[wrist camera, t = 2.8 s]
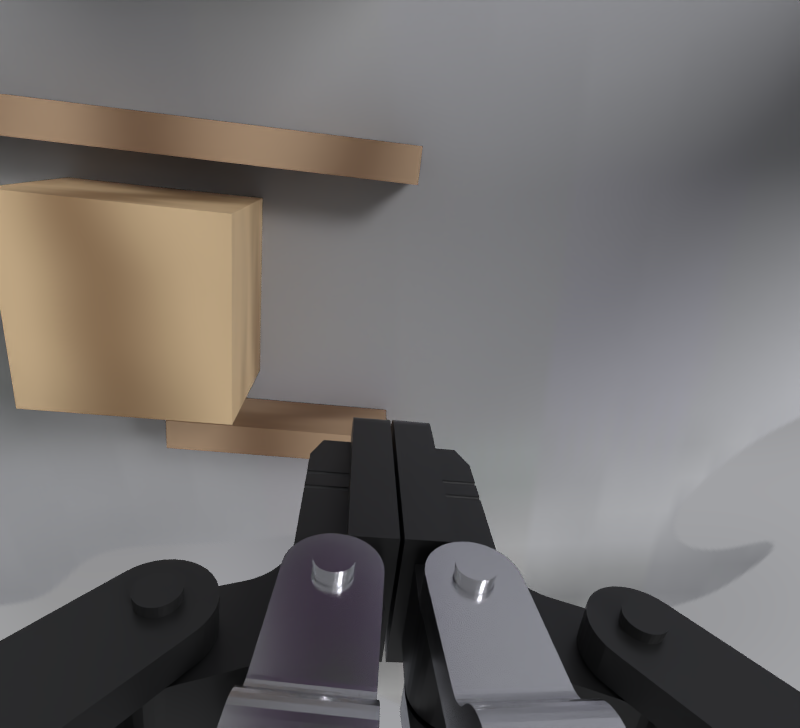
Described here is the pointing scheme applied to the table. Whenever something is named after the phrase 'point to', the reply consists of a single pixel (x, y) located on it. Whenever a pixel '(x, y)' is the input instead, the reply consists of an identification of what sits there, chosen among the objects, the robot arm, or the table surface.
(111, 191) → the block
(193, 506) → the table surface
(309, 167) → the channel
